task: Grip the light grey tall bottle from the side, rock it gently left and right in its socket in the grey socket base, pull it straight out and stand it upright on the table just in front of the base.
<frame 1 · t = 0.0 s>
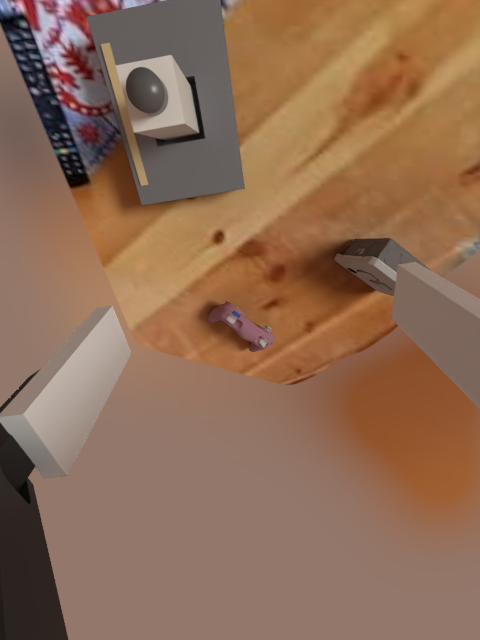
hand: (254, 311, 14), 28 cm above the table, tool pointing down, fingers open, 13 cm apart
video game controller: (241, 319, 46), on the table
grey socket base: (181, 117, 33), on the table
light grey tall bottle: (180, 117, 33), resting on grey socket base
electrical switch: (366, 258, 42), on the table
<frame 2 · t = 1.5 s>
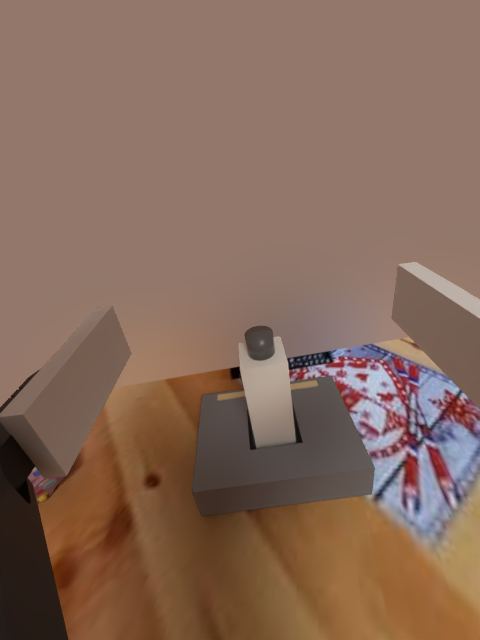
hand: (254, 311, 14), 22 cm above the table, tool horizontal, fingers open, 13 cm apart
video game controller: (30, 507, 32), on the table
grey socket base: (276, 449, 33), on the table
light grey tall bottle: (276, 446, 32), resting on grey socket base
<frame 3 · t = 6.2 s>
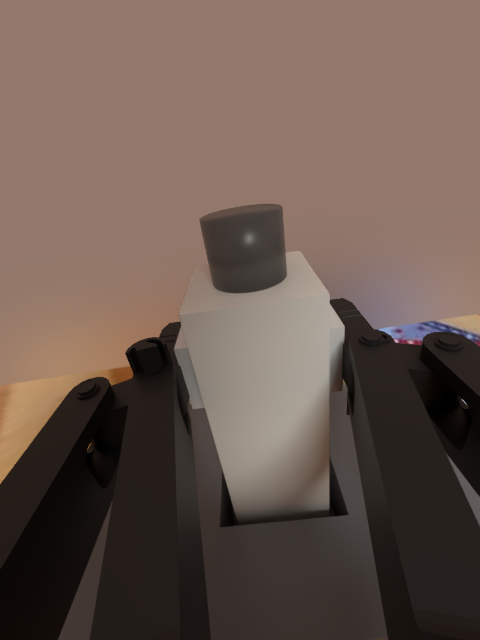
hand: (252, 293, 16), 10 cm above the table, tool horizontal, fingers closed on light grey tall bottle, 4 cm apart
grey socket base: (282, 508, 16), on the table
light grey tall bottle: (281, 503, 16), resting on grey socket base, touching gripper
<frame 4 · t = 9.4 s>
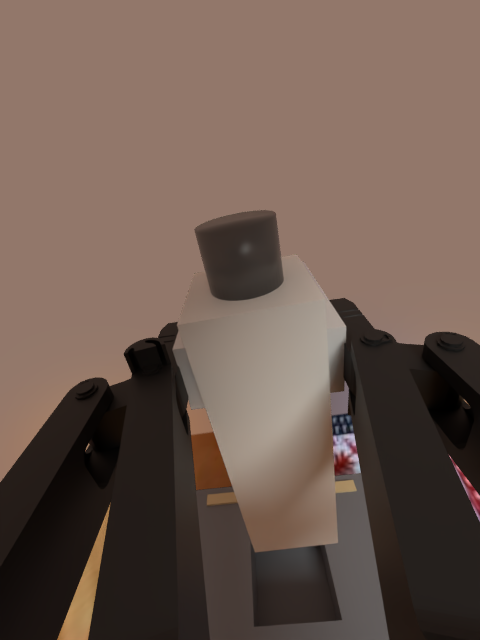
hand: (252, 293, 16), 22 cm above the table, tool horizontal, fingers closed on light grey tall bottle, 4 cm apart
grey socket base: (293, 594, 21), on the table
light grey tall bottle: (289, 504, 16), point 12 cm above the table, touching gripper
when the fingers open (11 cm above the table, at t = 13.1 s): light grey tall bottle drops 1 cm, on the table.
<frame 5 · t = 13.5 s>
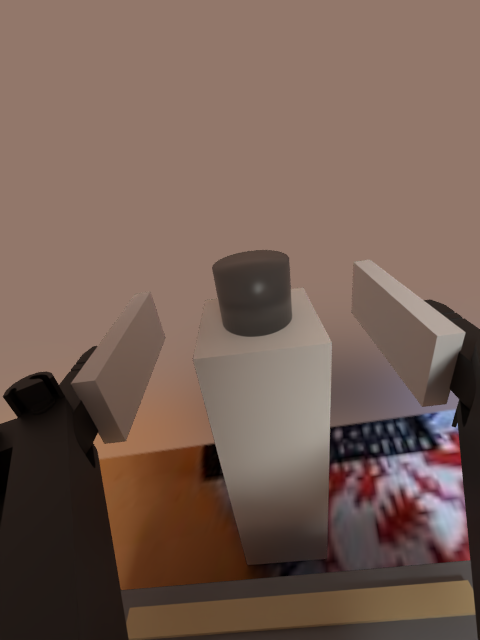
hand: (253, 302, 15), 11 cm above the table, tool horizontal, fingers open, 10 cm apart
light grey tall bottle: (281, 518, 16), on the table
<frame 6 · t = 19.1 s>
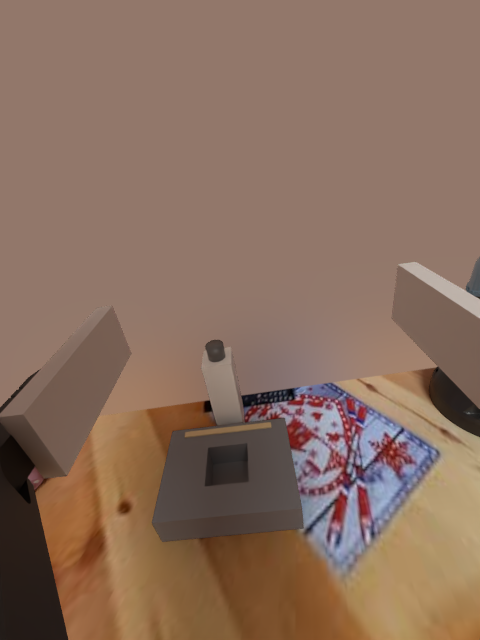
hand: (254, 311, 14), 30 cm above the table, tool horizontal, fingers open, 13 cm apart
video game controller: (12, 507, 40), on the table
grey socket base: (232, 482, 38), on the table
light grey tall bottle: (232, 422, 47), on the table
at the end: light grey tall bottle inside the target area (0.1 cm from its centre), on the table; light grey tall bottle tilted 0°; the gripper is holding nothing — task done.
